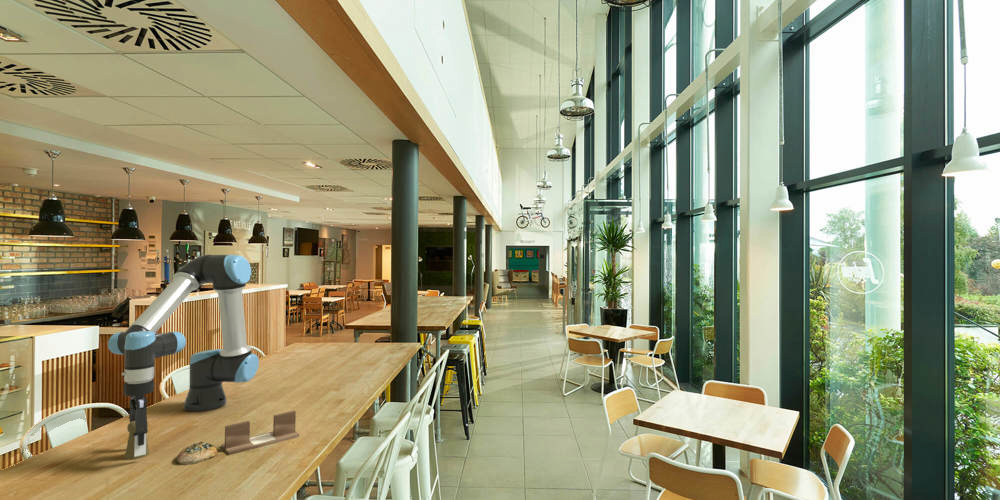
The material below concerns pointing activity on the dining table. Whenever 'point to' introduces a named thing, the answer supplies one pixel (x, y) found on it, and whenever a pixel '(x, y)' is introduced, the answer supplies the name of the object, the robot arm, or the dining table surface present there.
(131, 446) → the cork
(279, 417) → the notched board
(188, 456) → the bread roll
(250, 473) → the dining table surface
